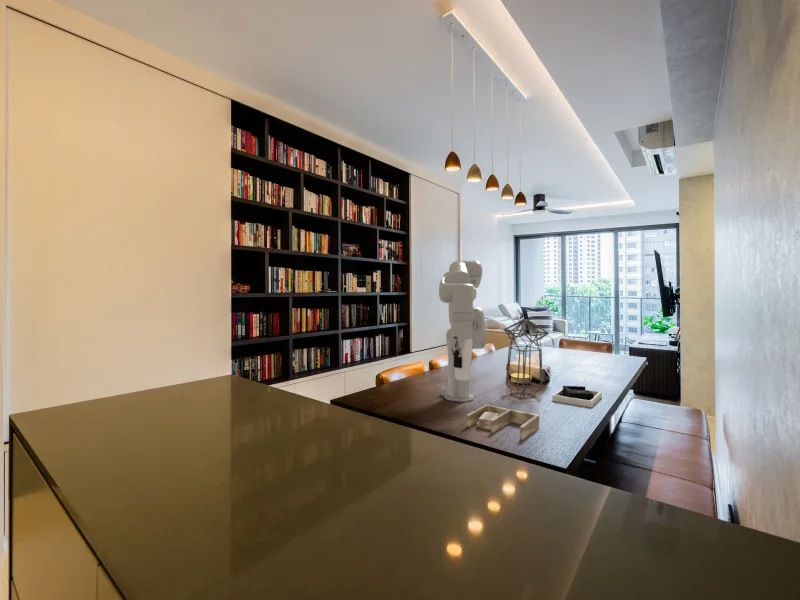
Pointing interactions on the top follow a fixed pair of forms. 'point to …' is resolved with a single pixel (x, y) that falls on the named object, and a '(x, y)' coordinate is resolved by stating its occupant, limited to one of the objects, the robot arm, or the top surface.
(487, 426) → the board
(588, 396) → the battery charger
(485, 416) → the offcut top
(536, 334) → the geometric lantern
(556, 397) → the charger tray
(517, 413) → the rack
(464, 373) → the white vase
